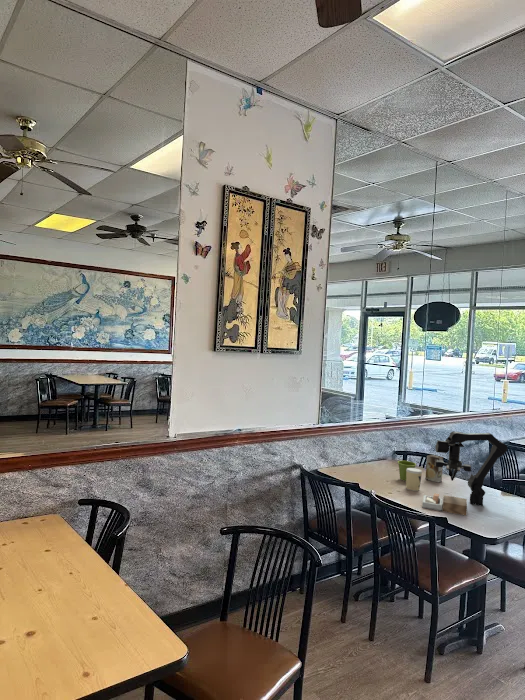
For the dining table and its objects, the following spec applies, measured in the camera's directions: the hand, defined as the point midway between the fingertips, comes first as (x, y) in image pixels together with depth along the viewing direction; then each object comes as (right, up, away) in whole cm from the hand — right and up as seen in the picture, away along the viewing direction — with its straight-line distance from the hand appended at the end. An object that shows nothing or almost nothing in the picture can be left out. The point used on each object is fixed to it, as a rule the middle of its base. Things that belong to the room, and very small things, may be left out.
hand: (452, 480), depth 283 cm
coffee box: (+4, -12, +43) cm, 45 cm away
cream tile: (-16, -8, -12) cm, 22 cm away
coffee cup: (-17, -11, +20) cm, 28 cm away
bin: (-15, -11, -10) cm, 21 cm away
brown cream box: (-4, -12, -14) cm, 19 cm away
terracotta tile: (-11, -8, -9) cm, 17 cm away
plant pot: (-15, -10, +39) cm, 44 cm away
